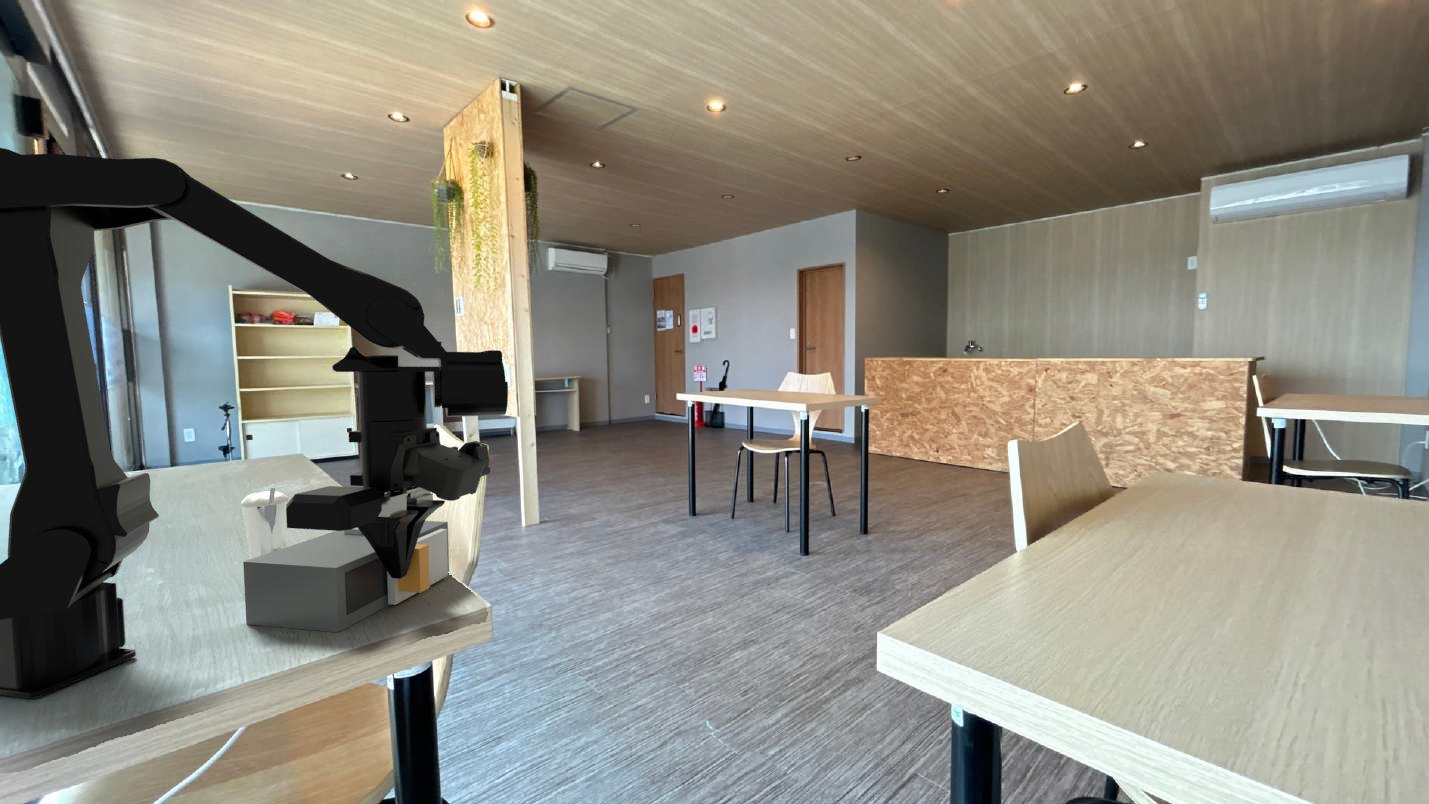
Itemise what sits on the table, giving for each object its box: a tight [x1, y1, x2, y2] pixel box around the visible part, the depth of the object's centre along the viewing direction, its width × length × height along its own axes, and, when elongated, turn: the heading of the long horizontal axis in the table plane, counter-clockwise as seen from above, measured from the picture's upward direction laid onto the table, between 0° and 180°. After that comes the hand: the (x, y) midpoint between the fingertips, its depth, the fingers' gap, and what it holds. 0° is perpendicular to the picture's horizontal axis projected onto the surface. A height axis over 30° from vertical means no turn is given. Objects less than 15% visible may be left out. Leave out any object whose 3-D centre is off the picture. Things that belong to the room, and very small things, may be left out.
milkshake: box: [240, 487, 289, 560], centre depth 69 cm, size 4×5×10 cm
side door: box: [387, 529, 449, 606], centre depth 61 cm, size 8×3×6 cm, turn 170°
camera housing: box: [242, 520, 450, 633], centre depth 61 cm, size 17×10×7 cm, turn 170°
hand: (398, 577), depth 56 cm, fingers closed
